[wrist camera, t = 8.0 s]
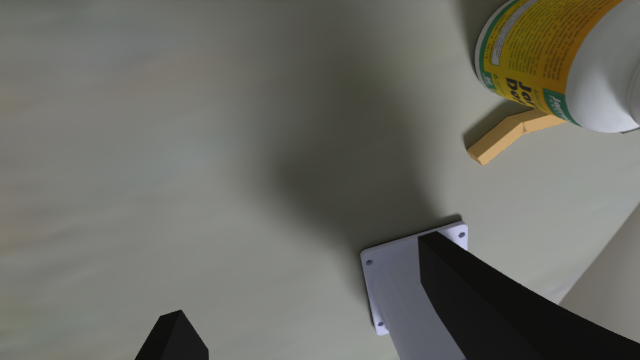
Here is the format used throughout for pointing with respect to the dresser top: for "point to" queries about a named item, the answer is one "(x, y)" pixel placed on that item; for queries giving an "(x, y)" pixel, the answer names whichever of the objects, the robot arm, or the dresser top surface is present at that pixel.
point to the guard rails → (510, 133)
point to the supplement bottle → (566, 59)
